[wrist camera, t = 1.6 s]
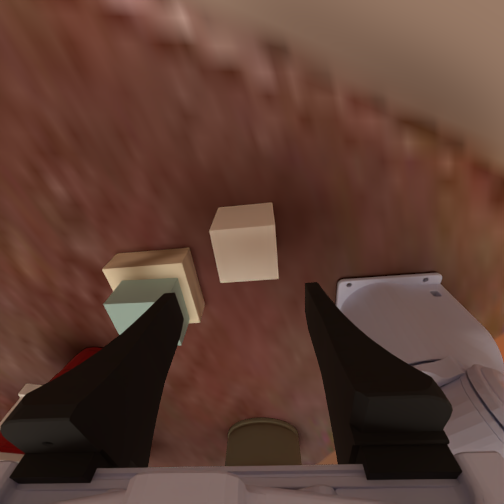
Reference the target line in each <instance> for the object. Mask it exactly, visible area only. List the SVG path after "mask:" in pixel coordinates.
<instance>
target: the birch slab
mask: <svg viewBox="0 0 504 504" xmlns="http://www.w3.org/2000/svg"><path fill="white" fill-rule="evenodd" d="M102 270H103V272H104V274H105V276H106V278H107V280H108V282H109V284H110V286H111V288H112V290H113V291H114V290H115V289H116V288H117V286H118V285H119V284H120V282H121V281H124V280H144V279H163V278H178V280H179V284H180V287H181V291H182V294H183V297H184V301H185V304H186V308H187V311H188V314H189V318H190V321H189V323H200V321H201V317H202V313H203V310H204V306H205V303H204V299H203V295H202V292H201V288H200V284H199V281H198V277H197V273H196V270H195V266H194V262H193V259H192V255H191V252H190V248H178V249H166V250H154V251H142V252H130V253H118V254H116V255H115V256H114V257H113V258H112V259H111V260H110V261H109V262H108V264H107V265H106V266H105V267H104V268H103V269H102Z"/></svg>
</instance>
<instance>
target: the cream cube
mask: <svg viewBox="0 0 504 504" xmlns="http://www.w3.org/2000/svg"><path fill="white" fill-rule="evenodd" d="M209 233H210V237H211V242H212V246H213V251H214V256H215V260H216V265H217V269H218V274H219V278H220V283H226V282H241V281H255V280H270V279H279V276H278V261H277V246H276V230H275V220H274V212H273V204H272V202H271V203H261V204H250V205H240V206H229V207H218V210H217V212H216V215H215V217H214V220H213V222H212V225H211V227H210V230H209Z"/></svg>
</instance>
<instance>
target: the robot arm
mask: <svg viewBox="0 0 504 504" xmlns="http://www.w3.org/2000/svg"><path fill="white" fill-rule="evenodd" d="M424 278H425V279H424ZM441 280H442V275H440V274H439V273H424V274H410V275H395V276H381V277H367V278H353V279H342V280H340V281H338V283H337V295H336V305H335V304H334V303H333V302H332V301H331V299H330V298H329V297H328V296H327V294H326V293H325V292H324V291H323V289H322V288H321V286H320V285H319V284H318V283H317V282H314V283H305V313H306V319H307V325H308V329H309V333H310V336H311V340H312V343H313V346H314V350H315V353H316V357H317V360H318V363H319V367H320V370H321V374H322V379H323V384H324V389H325V394H326V400H327V405H328V410H329V415H330V421H331V427H332V432H333V438H334V444H335V450H336V455H337V461H338V465H276V466H213V467H150V468H148V463H149V457H150V451H151V444H152V439H153V434H154V428H155V423H156V418H157V414H158V409H159V404H160V400H161V396H162V392H163V387H164V383H165V380H166V377H167V373H168V371H169V368H170V365H171V362H172V359H173V356H174V354H175V351H176V348H177V345H178V342H179V339H180V336H181V332H182V327H183V322H184V317H183V314H182V312H181V309H180V306H179V303H178V300H177V297H176V294H175V292H174V293H164V294H163V295H162V296H161V297H160V298H159V299H158V300H157V301H156V302H155V303H154V304H153V305H152V306H151V307H150V308H149V309H147V310H146V311H145V312H144V313H143V314H142V315H141V316H140V317H139V318H138V319H137V320H136V321H135V322H134V323H133V324H132V325H130V326H129V327H128V328H127V329H126V330H125V331H124V332H123V333H121V334H120V335H119V336H118V337H117V338H115V339H114V340H113V341H112V342H110V343H109V344H108V345H106V346H105V347H104V348H102V349H101V350H100V351H98V352H97V353H95V354H94V355H92V356H91V357H89V358H88V359H87V360H85V361H84V362H82V363H81V364H79V365H77V366H76V367H74V368H73V369H71V370H69V371H68V372H66V373H64V374H62V375H61V376H59V377H57V378H55V379H54V380H52V381H50V382H48V383H46V384H44V385H42V386H40V387H39V388H37V389H35V390H33V391H31V392H29V393H27V394H26V395H25V396H24V397H23V398H22V400H21V401H20V402H19V403H18V405H17V406H16V407H15V408H14V410H13V411H12V412H11V413H10V415H9V416H8V417H7V418H6V420H5V421H4V422H3V423H2V425H1V427H0V431H1V434H2V436H3V437H4V438H5V439H7V440H8V441H9V442H10V443H12V444H13V445H14V446H16V447H17V448H18V449H20V450H21V451H22V452H24V453H25V454H24V456H23V457H22V459H21V460H20V462H16V461H10V460H3V461H0V504H504V363H503V359H502V356H501V353H500V351H499V348H498V346H497V344H496V342H495V341H494V339H493V338H492V336H491V335H490V333H489V332H488V331H487V330H486V329H485V328H484V326H483V325H482V324H481V323H480V322H479V321H477V320H476V319H475V318H474V317H473V316H472V315H471V314H470V313H469V312H468V311H467V310H466V309H465V308H464V307H463V306H462V305H461V304H460V303H459V302H458V301H457V300H456V299H455V298H454V297H453V296H452V295H451V294H450V293H449V292H448V291H447V290H446V289H445V288H444V287H443V286H442V285H441V284H440V283H441ZM348 283H350V284H349V285H347V284H348Z"/></svg>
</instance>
